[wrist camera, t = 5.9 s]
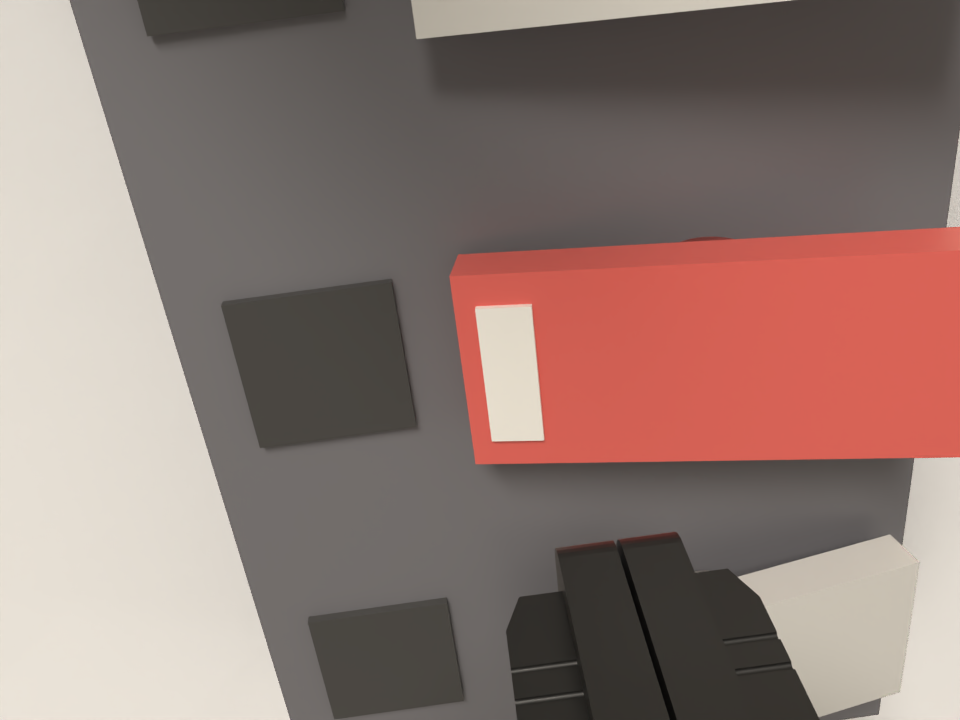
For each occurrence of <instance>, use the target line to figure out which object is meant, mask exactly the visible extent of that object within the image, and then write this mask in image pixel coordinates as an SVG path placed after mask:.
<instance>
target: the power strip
mask: <svg viewBox="0 0 960 720" xmlns="http://www.w3.org/2000/svg"><path fill="white" fill-rule="evenodd" d="M70 3H71V7H72V10H73V13H74V16H75V20H76V23H77V26H78V29H79V33H80V36H81V39H82V42H83V46H84V49H85V52H86V55H87V59H88V62H89V65H90V68H91V72H92V75H93V78H94V81H95V85H96V88H97V91H98V94H99V98H100V101H101V104H102V107H103V111H104V114H105V117H106V121H107V124H108V127H109V130H110V134H111V137H112V140H113V143H114V147H115V150H116V153H117V156H118V160H119V163H120V166H121V169H122V173H123V176H124V179H125V182H126V186H127V189H128V192H129V195H130V199H131V202H132V205H133V208H134V212H135V215H136V218H137V221H138V225H139V228H140V231H141V235H142V238H143V241H144V244H145V248H146V251H147V254H148V257H149V261H150V264H151V267H152V270H153V274H154V277H155V280H156V283H157V287H158V290H159V293H160V296H161V300H162V303H163V306H164V309H165V313H166V316H167V319H168V322H169V326H170V329H171V332H172V335H173V339H174V342H175V345H176V349H177V352H178V355H179V358H180V362H181V365H182V368H183V371H184V375H185V378H186V381H187V384H188V388H189V391H190V394H191V397H192V401H193V404H194V407H195V410H196V414H197V417H198V420H199V423H200V427H201V430H202V433H203V436H204V440H205V443H206V446H207V449H208V453H209V456H210V459H211V463H212V466H213V469H214V472H215V476H216V479H217V482H218V485H219V489H220V492H221V495H222V498H223V502H224V505H225V508H226V511H227V515H228V518H229V521H230V524H231V528H232V531H233V534H234V537H235V541H236V544H237V547H238V550H239V554H240V557H241V560H242V563H243V567H244V570H245V573H246V577H247V580H248V583H249V586H250V590H251V593H252V596H253V599H254V603H255V606H256V609H257V612H258V616H259V619H260V622H261V625H262V629H263V632H264V635H265V638H266V642H267V645H268V648H269V651H270V655H271V658H272V661H273V664H274V668H275V671H276V674H277V678H278V681H279V684H280V687H281V691H282V694H283V697H284V700H285V704H286V707H287V710H288V713H289V717H290V720H517V715H516V707H515V699H514V691H513V683H512V675H511V667H510V659H509V652H508V644H507V636H506V630H507V627H508V624H509V622H510V619H511V617H512V614H513V611H514V609H515V606H516V604H517V601H518V598H519V597H522V596H529V595H537V594H544V593H551V592H558V583H557V573H556V562H555V548H559V547H567V546H574V545H582V544H589V543H597V542H604V541H612V540H613V541H614V542H615V544H616V542H617V540H618V539H624V538H632V537H639V536H647V535H654V534H662V533H669V532H677V533H678V534H679V536H680V538H681V540H682V542H683V545H684V547H685V550H686V552H687V554H688V557H689V559H690V562H691V564H692V567H693V569H694V571H701V570H706V571H713V570H720V569H729V570H730V571H731V572H732V573H734V574H735V575H736V576H737V577H739V576H742V575H746V574H749V573H753V572H757V571H760V570H764V569H767V568H771V567H775V566H778V565H782V564H785V563H789V562H793V561H796V560H800V559H803V558H807V557H811V556H814V555H818V554H821V553H825V552H829V551H832V550H836V549H839V548H843V547H847V546H850V545H854V544H857V543H861V542H864V541H868V540H872V539H875V538H879V537H882V536H886V535H891V536H892V537H893V538H894V539H896V540H897V541H898V542H899V543H900V544H901V545H902V542H903V535H904V528H905V521H906V514H907V506H908V499H909V492H910V485H911V478H912V470H913V463H914V458H872V459H803V460H734V461H666V462H597V463H528V464H475V456H474V449H473V442H472V435H471V428H470V421H469V413H468V406H467V399H466V392H465V385H464V378H463V370H462V363H461V356H460V349H459V342H458V335H457V327H456V320H455V313H454V306H453V299H452V292H451V284H450V277H449V276H450V274H451V271H452V269H453V266H454V264H455V261H456V259H457V256H458V254H476V253H494V252H512V251H530V250H548V249H566V248H585V247H603V246H621V245H639V244H657V243H675V242H681V241H684V240H688V239H692V238H698V237H726V238H732V239H748V238H766V237H784V236H803V235H821V234H839V233H857V232H875V231H893V230H912V229H930V228H946V225H947V218H948V211H949V204H950V196H951V189H952V182H953V175H954V167H955V160H956V153H957V146H958V139H959V131H960V0H791V1H781V2H772V3H762V4H752V5H743V6H733V7H723V8H714V9H704V10H694V11H685V12H675V13H665V14H656V15H646V16H636V17H627V18H617V19H607V20H598V21H588V22H578V23H569V24H559V25H549V26H540V27H530V28H520V29H511V30H501V31H491V32H482V33H472V34H462V35H453V36H443V37H433V38H424V39H416V32H415V25H414V18H413V11H412V3H411V0H70ZM880 701H881V698H879V699H876V700H873V701H870V702H866V703H863V704H860V705H857V706H854V707H850V708H847V709H844V710H841V711H838V712H834V713H831V714H828V715H825V716H821V717H819V719H820V720H843V719H850V718H857V717H864V716H871V715H878V714H879V708H880Z"/></svg>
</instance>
